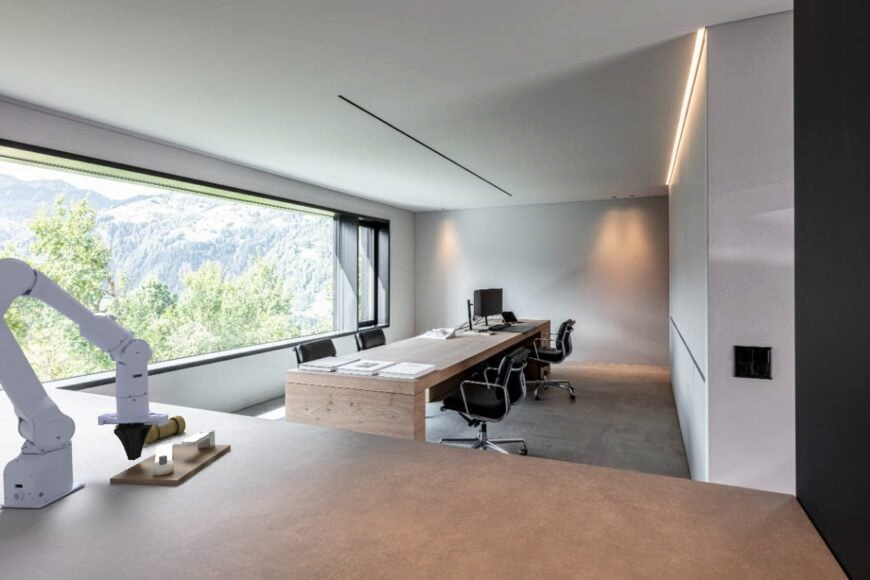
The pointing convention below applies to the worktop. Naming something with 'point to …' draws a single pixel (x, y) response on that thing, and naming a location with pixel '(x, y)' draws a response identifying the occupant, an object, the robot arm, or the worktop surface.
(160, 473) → the swing link
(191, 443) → the keeper
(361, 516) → the worktop surface
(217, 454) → the pivot board
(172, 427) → the gavel
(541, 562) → the worktop surface
